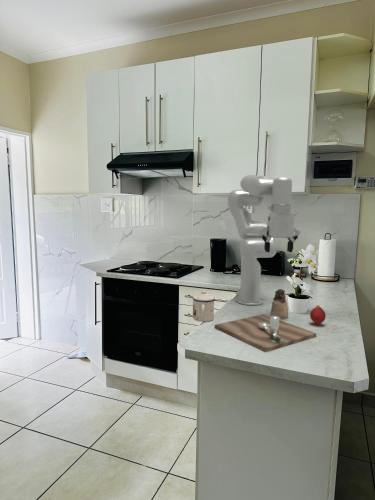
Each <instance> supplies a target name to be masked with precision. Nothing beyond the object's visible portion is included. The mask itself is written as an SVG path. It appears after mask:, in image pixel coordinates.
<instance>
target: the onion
mask: <svg viewBox="0 0 375 500" xmlns="http://www.w3.org/2000/svg"><path fill="white" fill-rule="evenodd" d="M326 317H327V315H326V312H325V310H324V309H323V308H322V307H321V306H320V305H319V304H317V305H316V306H314V307H313V308H312V310H311V311H310V313H309V318H310V320H311V321H312V323H314V324H315V325H320V324H322V323H324V322H325V320H326Z"/></svg>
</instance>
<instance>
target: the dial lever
mask: <svg viewBox="0 0 375 500" xmlns="http://www.w3.org/2000/svg"><path fill="white" fill-rule="evenodd" d="M269 317H270V323H268V322H259V328H260V329H264V330H265V331H266V332H267V333H268V334H269V336H270V337H271V338H274V339H275V340H277V341H281V338H280V337H279V336H278V335H279V320H280V319H279V316H274V315H273V316H271V315H270V316H269Z"/></svg>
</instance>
